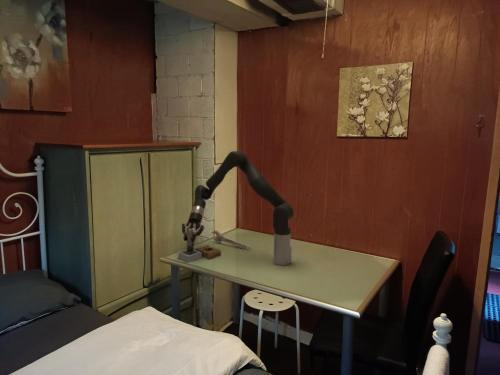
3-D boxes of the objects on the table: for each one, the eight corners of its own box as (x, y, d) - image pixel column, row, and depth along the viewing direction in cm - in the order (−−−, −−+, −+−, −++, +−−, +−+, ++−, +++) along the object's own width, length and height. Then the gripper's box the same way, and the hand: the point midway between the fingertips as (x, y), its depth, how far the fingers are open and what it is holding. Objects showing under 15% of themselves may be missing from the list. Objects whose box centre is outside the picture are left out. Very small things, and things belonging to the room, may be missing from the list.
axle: (195, 250, 211) (194, 228, 209) (189, 252, 208) (189, 230, 206) (190, 248, 214) (190, 227, 212) (185, 250, 211) (184, 228, 209)
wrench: (248, 255, 227) (210, 241, 243) (249, 254, 229) (212, 240, 244) (249, 243, 225) (211, 229, 241) (251, 242, 227) (213, 229, 242)
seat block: (201, 258, 212) (201, 252, 211) (188, 262, 205) (188, 256, 205) (191, 254, 218) (191, 248, 218) (178, 258, 212) (178, 252, 211)
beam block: (220, 255, 217) (220, 250, 216) (208, 259, 210) (208, 253, 210) (207, 250, 225) (207, 245, 224) (195, 254, 218) (195, 248, 218)
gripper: (183, 210, 216) (175, 236, 207) (206, 212, 213) (198, 238, 203) (187, 217, 222) (179, 242, 213) (209, 219, 219) (202, 245, 209)
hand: (188, 240), depth 208 cm, fingers closed on axle, 4 cm apart
